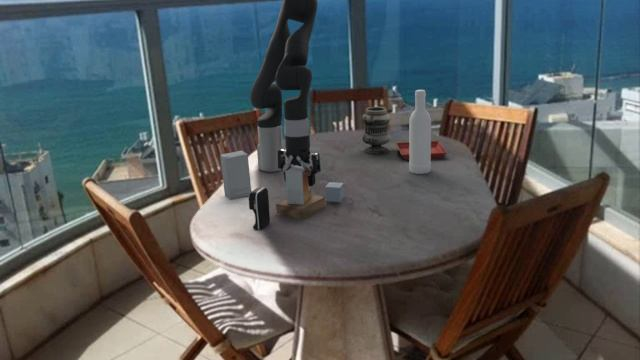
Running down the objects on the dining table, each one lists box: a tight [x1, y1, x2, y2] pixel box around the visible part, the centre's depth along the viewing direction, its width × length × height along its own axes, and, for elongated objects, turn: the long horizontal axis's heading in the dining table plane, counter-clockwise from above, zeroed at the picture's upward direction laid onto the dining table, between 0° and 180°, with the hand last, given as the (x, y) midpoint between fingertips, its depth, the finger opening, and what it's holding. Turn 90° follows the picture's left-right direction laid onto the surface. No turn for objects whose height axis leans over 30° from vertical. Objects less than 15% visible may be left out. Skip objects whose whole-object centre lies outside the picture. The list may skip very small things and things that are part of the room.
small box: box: [285, 165, 313, 205], centre depth 187 cm, size 8×6×10 cm
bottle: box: [408, 89, 432, 175], centre depth 220 cm, size 8×8×30 cm
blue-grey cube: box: [324, 181, 345, 203], centre depth 198 cm, size 5×5×5 cm
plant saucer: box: [395, 140, 447, 161], centre depth 246 cm, size 18×18×3 cm
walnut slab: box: [275, 194, 326, 221], centre depth 190 cm, size 10×12×4 cm
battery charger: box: [248, 187, 271, 231], centre depth 177 cm, size 7×4×11 cm, turn 161°
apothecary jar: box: [361, 106, 392, 154], centre depth 252 cm, size 12×12×18 cm
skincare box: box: [219, 150, 252, 200], centre depth 205 cm, size 8×6×15 cm
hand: (299, 184), depth 187 cm, fingers open, 8 cm apart
